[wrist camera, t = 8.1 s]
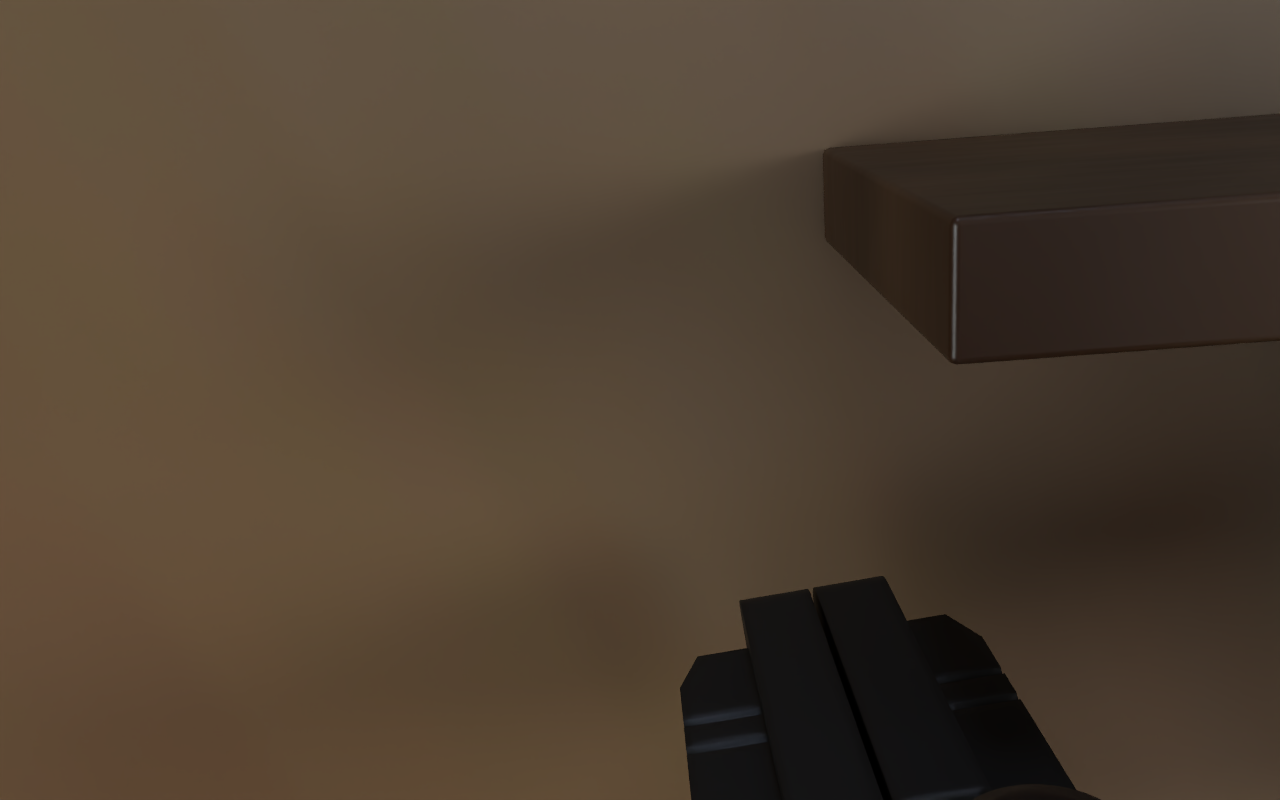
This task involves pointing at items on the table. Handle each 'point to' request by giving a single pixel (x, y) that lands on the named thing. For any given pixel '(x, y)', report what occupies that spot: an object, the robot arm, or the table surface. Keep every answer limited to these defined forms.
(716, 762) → the robot arm
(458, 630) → the table surface
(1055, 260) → the dark brown tray
